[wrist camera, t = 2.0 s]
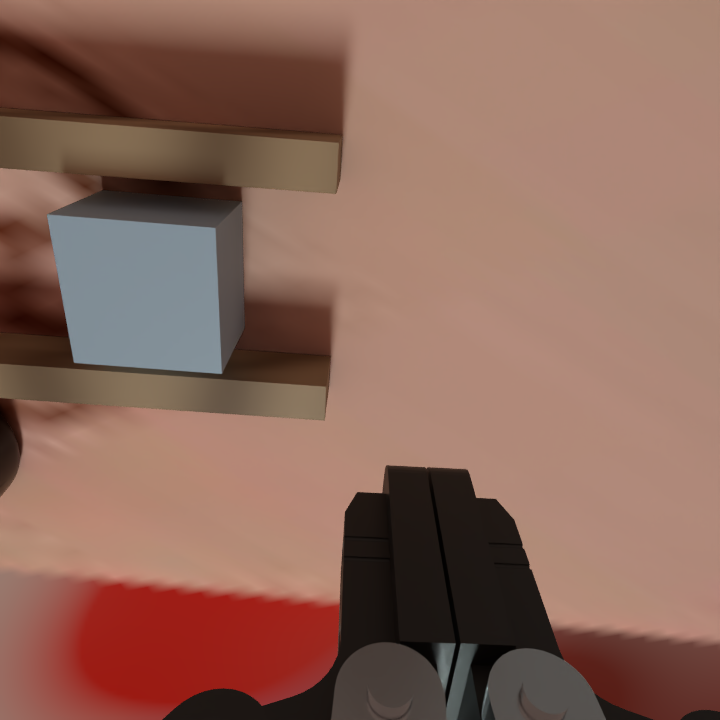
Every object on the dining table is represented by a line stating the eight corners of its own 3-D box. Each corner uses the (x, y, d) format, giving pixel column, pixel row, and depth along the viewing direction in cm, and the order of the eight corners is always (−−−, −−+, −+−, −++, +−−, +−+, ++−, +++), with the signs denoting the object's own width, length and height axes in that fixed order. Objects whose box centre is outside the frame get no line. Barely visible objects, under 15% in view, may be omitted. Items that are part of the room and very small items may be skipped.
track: (342, 134, 19) (336, 148, 15) (328, 387, 23) (321, 443, 20) (-256, 87, 18) (-405, 90, 15) (-151, 353, 23) (-245, 404, 20)
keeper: (242, 200, 20) (215, 228, 17) (245, 326, 22) (221, 373, 19) (104, 189, 20) (47, 214, 16) (121, 316, 22) (74, 362, 19)
